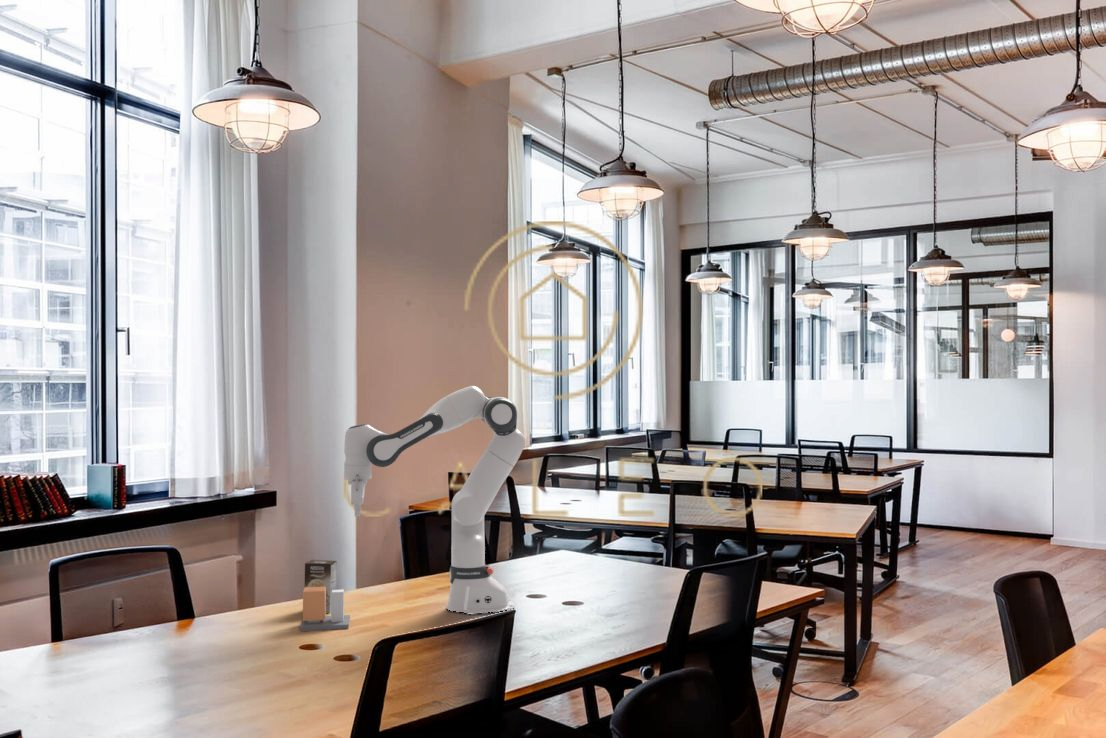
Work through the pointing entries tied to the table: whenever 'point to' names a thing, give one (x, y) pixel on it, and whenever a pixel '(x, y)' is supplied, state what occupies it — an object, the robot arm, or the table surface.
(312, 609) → the orange block
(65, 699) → the table surface
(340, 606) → the post base
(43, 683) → the table surface
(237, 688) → the table surface
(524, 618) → the table surface
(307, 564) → the coffee box
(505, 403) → the robot arm
